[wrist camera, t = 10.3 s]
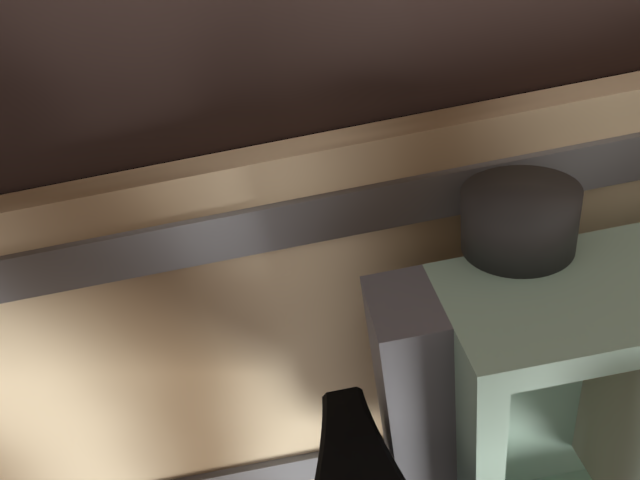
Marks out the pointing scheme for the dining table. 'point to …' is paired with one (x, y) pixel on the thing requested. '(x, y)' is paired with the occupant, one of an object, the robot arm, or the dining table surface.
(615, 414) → the block
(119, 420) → the track board
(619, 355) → the cart
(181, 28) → the dining table surface
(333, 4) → the dining table surface
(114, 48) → the dining table surface
